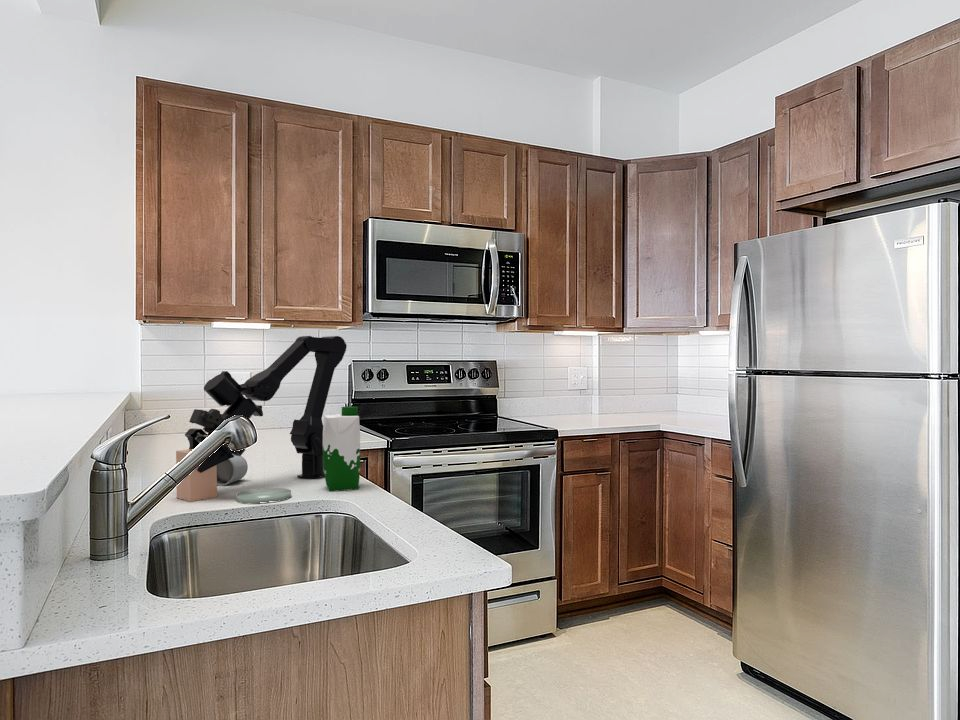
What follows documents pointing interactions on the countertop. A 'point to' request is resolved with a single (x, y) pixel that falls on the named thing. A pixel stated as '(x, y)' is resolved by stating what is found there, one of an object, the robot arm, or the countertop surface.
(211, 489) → the pinkish brown brick
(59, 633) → the countertop surface
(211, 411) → the robot arm
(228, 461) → the ceramic mug
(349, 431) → the milk carton
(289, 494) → the dish
